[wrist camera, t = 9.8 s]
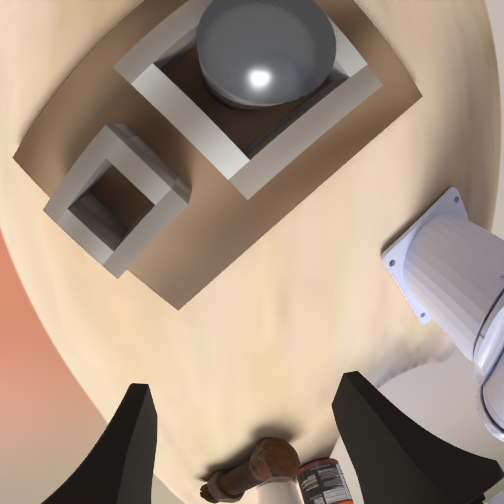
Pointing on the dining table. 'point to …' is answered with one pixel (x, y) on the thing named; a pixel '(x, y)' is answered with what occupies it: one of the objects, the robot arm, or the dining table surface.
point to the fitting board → (197, 145)
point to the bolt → (253, 471)
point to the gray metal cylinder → (264, 51)
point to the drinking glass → (278, 493)
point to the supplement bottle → (323, 483)
